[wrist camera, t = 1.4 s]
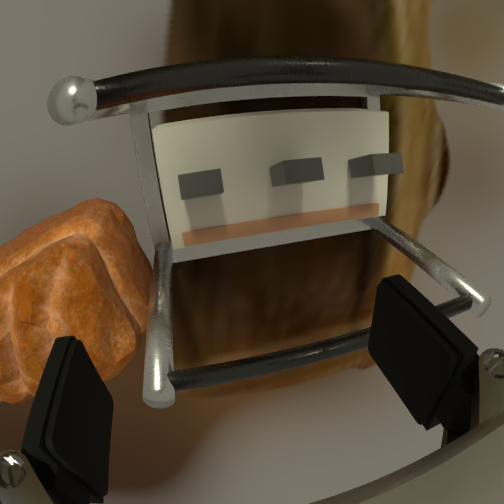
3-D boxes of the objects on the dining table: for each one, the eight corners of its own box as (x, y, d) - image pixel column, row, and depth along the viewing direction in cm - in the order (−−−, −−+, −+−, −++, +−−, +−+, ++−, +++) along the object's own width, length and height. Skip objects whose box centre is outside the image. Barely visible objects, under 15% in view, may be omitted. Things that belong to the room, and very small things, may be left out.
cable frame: (127, 91, 25) (44, 76, 8) (373, 76, 29) (525, 84, 12) (158, 260, 33) (150, 412, 16) (372, 224, 37) (485, 316, 20)
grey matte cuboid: (348, 159, 26) (371, 153, 22) (375, 158, 26) (400, 152, 22) (351, 178, 26) (374, 175, 22) (377, 175, 27) (403, 172, 23)
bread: (169, 294, 35) (171, 404, 22) (10, 349, 34) (-24, 435, 20) (115, 180, 29) (64, 249, 15) (-45, 269, 27) (-105, 344, 14)
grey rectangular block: (180, 179, 24) (177, 175, 20) (216, 174, 24) (220, 168, 20) (183, 200, 24) (181, 199, 20) (219, 194, 25) (224, 192, 21)
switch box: (157, 124, 27) (151, 129, 22) (356, 108, 30) (389, 112, 25) (173, 223, 32) (173, 250, 26) (356, 196, 35) (386, 216, 29)
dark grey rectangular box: (269, 167, 25) (283, 160, 21) (302, 163, 25) (321, 157, 21) (272, 187, 25) (286, 183, 21) (305, 182, 26) (324, 179, 22)
